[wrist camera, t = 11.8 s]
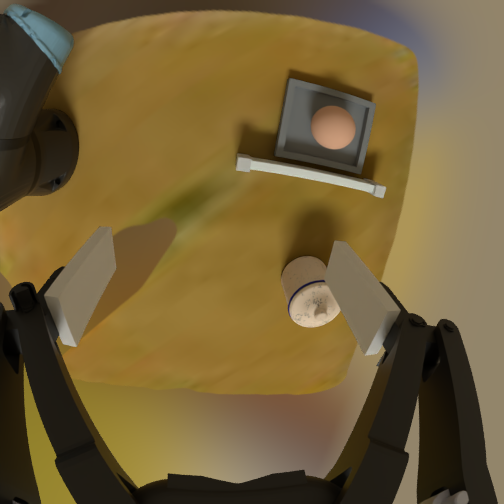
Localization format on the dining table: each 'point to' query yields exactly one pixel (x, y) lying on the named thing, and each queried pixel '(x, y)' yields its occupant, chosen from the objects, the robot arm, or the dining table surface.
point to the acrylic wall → (308, 173)
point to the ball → (333, 127)
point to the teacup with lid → (308, 292)
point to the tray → (299, 126)
